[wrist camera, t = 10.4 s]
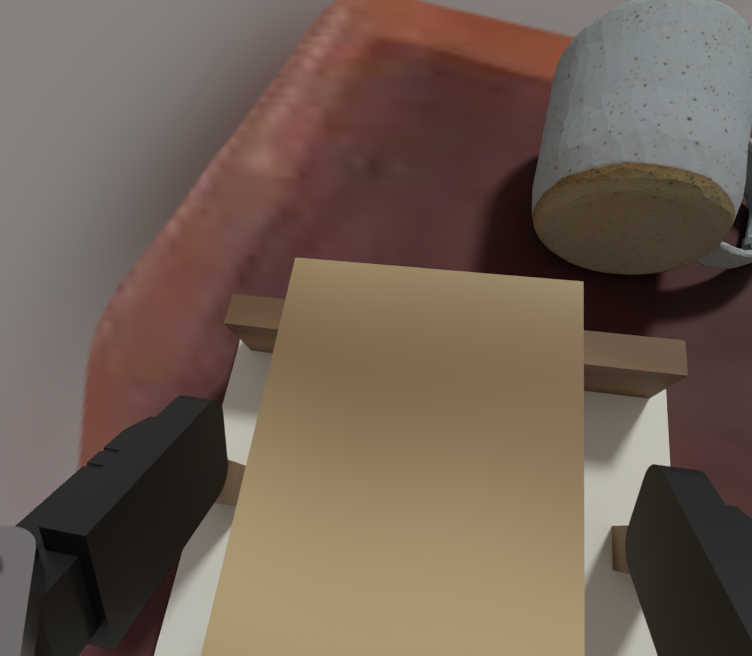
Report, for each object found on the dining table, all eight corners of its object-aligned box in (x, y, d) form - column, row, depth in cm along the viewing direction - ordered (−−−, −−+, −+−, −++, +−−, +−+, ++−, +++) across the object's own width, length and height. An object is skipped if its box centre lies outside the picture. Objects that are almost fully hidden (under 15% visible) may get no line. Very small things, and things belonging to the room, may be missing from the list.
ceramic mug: (510, 267, 23) (551, 148, 15) (537, 129, 25) (583, -25, 18) (765, 317, 21) (945, 207, 14) (764, 162, 24) (913, 4, 16)
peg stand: (671, 805, 15) (690, 827, 14) (160, 684, 18) (143, 695, 17) (651, 369, 20) (664, 360, 19) (256, 325, 23) (247, 314, 22)
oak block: (480, 642, 14) (584, 875, 4) (339, 615, 14) (173, 771, 5) (494, 426, 16) (583, 281, 7) (370, 411, 16) (295, 257, 7)
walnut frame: (657, 577, 16) (746, 596, 12) (211, 501, 19) (140, 491, 14) (648, 368, 19) (717, 316, 14) (258, 324, 21) (210, 268, 17)
